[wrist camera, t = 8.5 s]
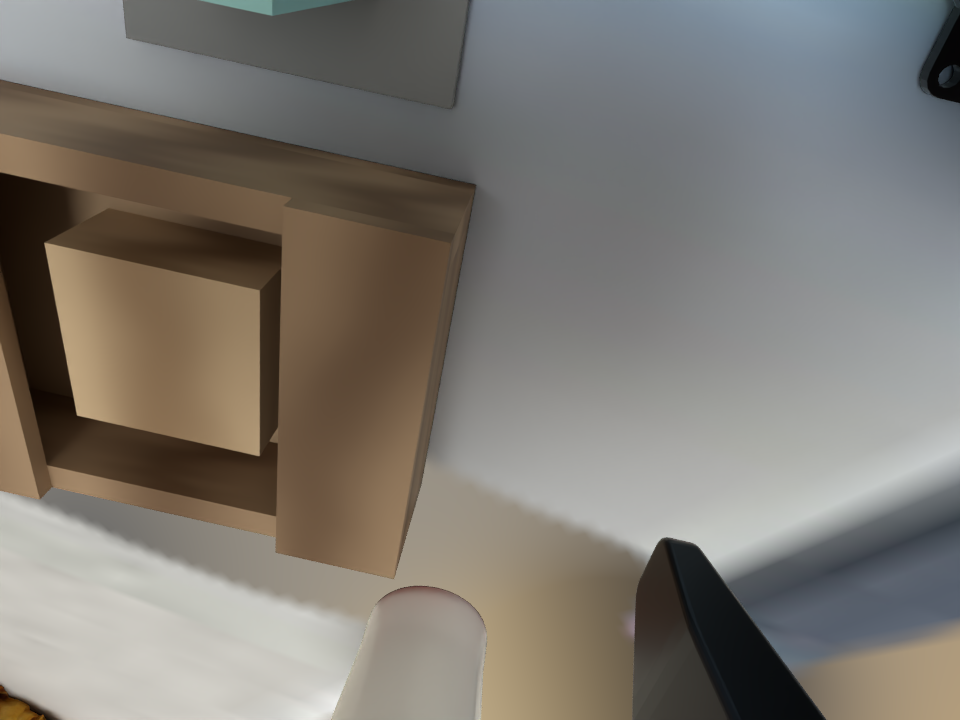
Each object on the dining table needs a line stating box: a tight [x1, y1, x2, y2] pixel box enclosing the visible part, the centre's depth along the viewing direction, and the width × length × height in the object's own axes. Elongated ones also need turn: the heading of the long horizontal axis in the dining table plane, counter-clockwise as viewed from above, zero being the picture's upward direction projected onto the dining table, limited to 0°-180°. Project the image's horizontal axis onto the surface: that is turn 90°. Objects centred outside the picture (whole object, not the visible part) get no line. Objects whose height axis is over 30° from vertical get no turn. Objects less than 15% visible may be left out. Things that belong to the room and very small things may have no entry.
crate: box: [0, 80, 476, 579], centre depth 20 cm, size 16×12×5 cm
